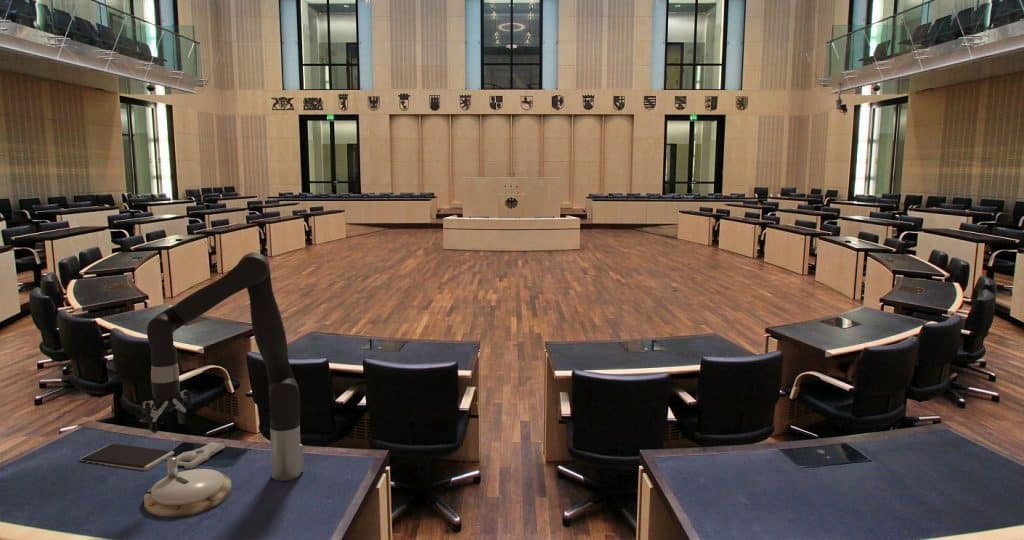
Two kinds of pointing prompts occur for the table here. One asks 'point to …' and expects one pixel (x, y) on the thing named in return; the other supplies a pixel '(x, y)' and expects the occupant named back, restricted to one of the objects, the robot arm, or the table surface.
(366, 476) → the table surface
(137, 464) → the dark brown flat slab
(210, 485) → the dial
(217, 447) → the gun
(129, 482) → the table surface
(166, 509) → the dial base
